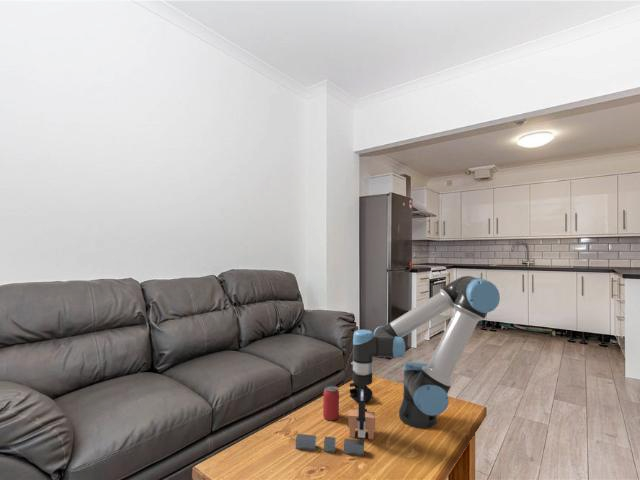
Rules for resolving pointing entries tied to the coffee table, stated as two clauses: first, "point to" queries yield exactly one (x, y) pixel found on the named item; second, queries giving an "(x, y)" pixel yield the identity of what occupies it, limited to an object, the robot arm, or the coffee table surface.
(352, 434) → the salmon pink bridge block
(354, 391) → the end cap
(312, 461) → the coffee table surface
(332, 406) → the beer can
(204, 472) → the coffee table surface
